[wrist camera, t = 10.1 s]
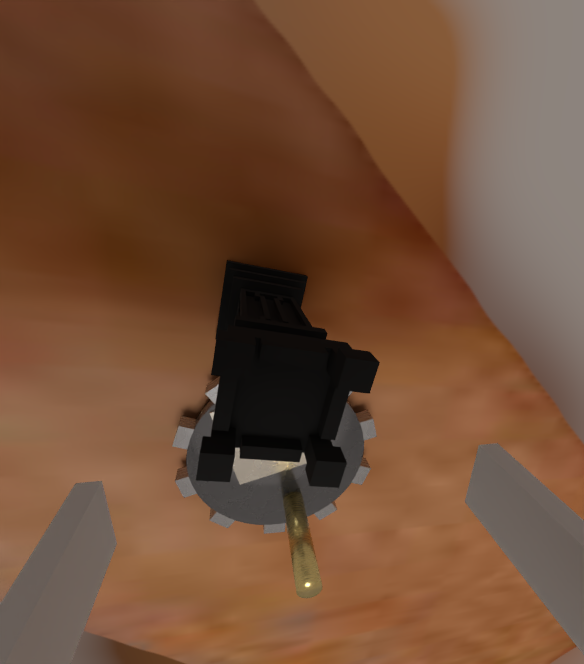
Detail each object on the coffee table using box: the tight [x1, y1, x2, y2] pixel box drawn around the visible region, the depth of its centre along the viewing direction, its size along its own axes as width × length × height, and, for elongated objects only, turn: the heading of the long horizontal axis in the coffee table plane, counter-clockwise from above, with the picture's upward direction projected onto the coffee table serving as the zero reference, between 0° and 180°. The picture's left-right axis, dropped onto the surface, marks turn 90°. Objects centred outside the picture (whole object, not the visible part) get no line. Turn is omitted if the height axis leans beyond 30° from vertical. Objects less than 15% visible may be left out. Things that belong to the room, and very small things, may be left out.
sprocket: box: [173, 376, 376, 598], centre depth 33 cm, size 23×23×12 cm
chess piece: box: [196, 260, 380, 488], centre depth 24 cm, size 8×8×20 cm
